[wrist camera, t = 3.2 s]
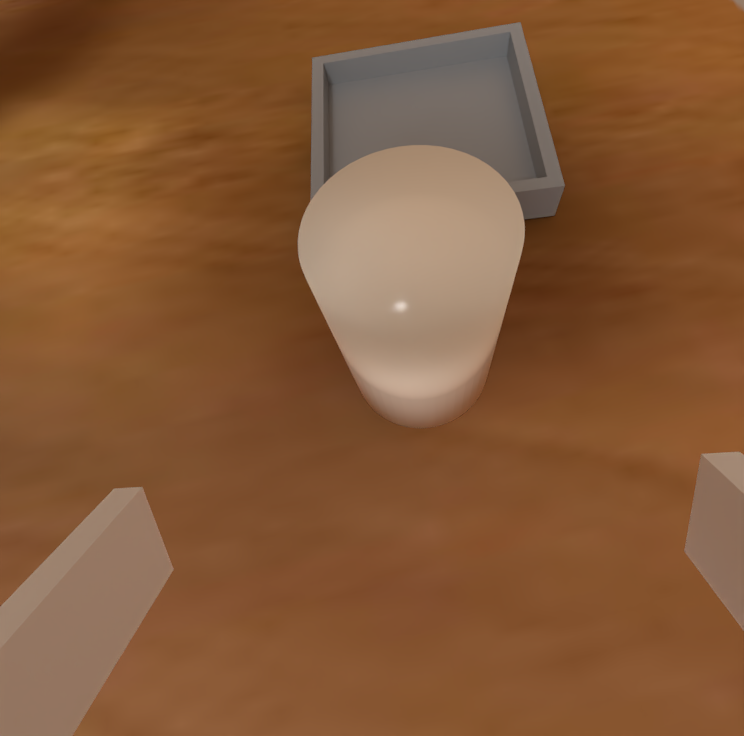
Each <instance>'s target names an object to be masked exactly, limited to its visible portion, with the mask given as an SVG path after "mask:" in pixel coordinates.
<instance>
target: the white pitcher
mask: <svg viewBox="0 0 744 736" xmlns="http://www.w3.org/2000/svg"><path fill="white" fill-rule="evenodd" d="M524 237H525V224H524V216H523V212H522V209H521V206H520V202H519V200H518V198H517V196H516V194H515V192H514V191H513V189H512V188H511V187H510V185H509V184H508V182H507V181H506V180H505V179H504V178H503V177H502V176H501V175H500V174H499V173H498V172H497V171H496V170H494V169H493V168H492V167H491V166H489V165H488V164H486V163H485V162H483V161H481V160H480V159H478V158H476V157H474V156H471V155H469V154H467V153H464V152H461V151H458V150H455V149H451V148H446V147H441V146H431V145H409V146H399V147H394V148H389V149H385V150H381V151H378V152H375V153H372V154H369V155H367V156H364V157H362V158H360V159H358V160H356V161H354V162H352V163H350V164H349V165H347V166H346V167H344V168H343V169H341V170H340V171H338V172H337V173H336V174H334V175H333V176H332V177H331V178H330V179H328V181H327V182H326V183H325V184H324V185H323V186H322V187H321V188H320V189H319V190H318V192H317V193H316V194H315V195H314V197H313V198H312V200H311V201H310V203H309V205H308V207H307V208H306V211H305V213H304V215H303V218H302V221H301V225H300V228H299V234H298V256H299V260H300V265H301V268H302V271H303V273H304V276H305V278H306V280H307V282H308V284H309V286H310V288H311V290H312V293H313V295H314V297H315V299H316V301H317V303H318V305H319V307H320V309H321V311H322V313H323V315H324V317H325V319H326V321H327V324H328V326H329V328H330V330H331V332H332V334H333V336H334V338H335V340H336V342H337V344H338V346H339V348H340V350H341V352H342V355H343V357H344V359H345V361H346V363H347V365H348V367H349V369H350V371H351V373H352V375H353V377H354V379H355V381H356V383H357V385H358V388H359V390H360V392H361V394H362V395H363V397H364V399H365V400H366V402H367V403H368V404H369V406H370V407H371V408H372V409H373V410H374V411H375V412H376V413H378V414H379V415H381V416H382V417H383V418H385V419H387V420H389V421H390V422H393V423H395V424H398V425H401V426H405V427H411V428H430V427H436V426H440V425H444V424H446V423H449V422H451V421H453V420H455V419H457V418H458V417H460V416H461V415H463V414H464V413H465V412H466V411H468V410H469V409H470V408H471V407H472V406H473V405H474V403H475V402H476V401H477V399H478V398H479V396H480V394H481V392H482V391H483V388H484V385H485V383H486V379H487V376H488V372H489V368H490V365H491V361H492V358H493V354H494V350H495V347H496V343H497V340H498V336H499V332H500V329H501V325H502V322H503V318H504V314H505V311H506V307H507V304H508V300H509V296H510V293H511V289H512V286H513V282H514V278H515V275H516V271H517V268H518V264H519V261H520V257H521V253H522V249H523V244H524Z"/></svg>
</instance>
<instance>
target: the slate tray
mask: <svg viewBox="0 0 744 736" xmlns="http://www.w3.org/2000/svg"><path fill="white" fill-rule="evenodd" d="M409 145H431V146H441V147H446V148H451V149H455V150H458V151H461V152H464V153H467V154H469V155H471V156H474V157H476V158H478V159H480V160H481V161H483V162H485V163H486V164H488V165H489V166H491V167H492V168H493V169H494V170H496V171H497V172H498V173H499V174H500V175H501V176H502V177H503V178H504V179H505V180H506V181H507V182H508V184H509V185H510V187H511V188H512V189H513V191H514V192H515V194H516V196H517V198H518V200H519V202H520V206H521V209H522V212H523V216H524V219H531V218H539V217H547V216H555V213H556V210H557V207H558V204H559V201H560V198H561V196H562V193H563V190H564V187H565V184H564V181H563V177H562V173H561V170H560V166H559V162H558V159H557V155H556V151H555V147H554V144H553V140H552V136H551V133H550V129H549V125H548V122H547V118H546V114H545V111H544V107H543V103H542V100H541V96H540V92H539V89H538V85H537V81H536V78H535V74H534V70H533V67H532V63H531V59H530V56H529V52H528V48H527V45H526V41H525V37H524V34H523V30H522V26H521V23H520V22H519V23H513V24H507V25H501V26H495V27H489V28H483V29H478V30H472V31H466V32H460V33H454V34H448V35H443V36H437V37H431V38H425V39H419V40H413V41H407V42H402V43H396V44H390V45H384V46H378V47H372V48H367V49H361V50H355V51H349V52H343V53H337V54H331V55H326V56H320V57H314V58H312V122H311V200H312V198H313V197H314V195H315V194H316V193H317V192H318V190H319V189H320V188H321V187H322V186H323V185H324V184H325V183H326V182H327V181H328V179H330V178H331V177H332V176H333V175H334V174H336V173H337V172H338V171H340V170H341V169H343V168H344V167H346V166H347V165H349V164H350V163H352V162H354V161H356V160H358V159H360V158H362V157H364V156H367V155H369V154H372V153H375V152H378V151H381V150H385V149H389V148H394V147H399V146H409Z"/></svg>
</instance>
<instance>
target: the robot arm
mask: <svg viewBox="0 0 744 736" xmlns="http://www.w3.org/2000/svg"><path fill="white" fill-rule="evenodd" d="M685 553H686V554H687V555H688V557H689V558H690V559H691V561H692V562H693V563H694V565H695V566H696V567H697V569H698V570H699V571H700V573H701V574H702V576H703V577H704V578H705V580H706V581H707V582H708V584H709V585H710V586H711V588H712V589H713V590H714V592H715V593H716V594H717V596H718V597H719V598H720V600H721V601H722V602H723V604H724V605H725V606H726V608H727V609H728V610H729V612H730V613H731V614H732V616H733V617H734V618H735V620H736V621H737V622H738V624H739V625H740V626H741V628H742V629H743V630H744V455H743V454H741V453H740V452H727V453H710V454H701V458H700V464H699V470H698V476H697V482H696V487H695V493H694V499H693V505H692V511H691V516H690V522H689V528H688V534H687V540H686V545H685ZM173 570H174V569H173V567H172V564H171V562H170V559H169V556H168V554H167V551H166V548H165V546H164V543H163V540H162V538H161V535H160V533H159V530H158V527H157V525H156V522H155V519H154V517H153V514H152V511H151V509H150V506H149V504H148V501H147V498H146V496H145V493H144V490H143V488H142V487H134V488H117V489H113V490H112V491H111V493H110V494H109V495H108V496H107V497H106V498H105V499H104V500H103V501H102V502H101V503H100V504H99V505H98V506H97V507H96V508H95V509H94V510H93V511H92V512H91V513H90V514H89V515H88V516H87V517H86V518H85V519H84V521H83V522H82V523H81V524H80V525H79V526H78V527H77V528H76V529H75V530H74V531H73V532H72V533H71V534H70V535H69V536H68V537H67V538H66V539H65V540H64V541H63V542H62V543H61V544H60V545H59V546H58V547H57V549H56V550H55V551H54V552H53V553H52V554H51V555H50V556H49V557H48V558H47V559H46V560H45V561H44V562H43V563H42V564H41V565H40V566H39V567H38V568H37V569H36V570H35V571H34V572H33V573H32V574H31V575H30V577H29V578H28V579H27V580H26V581H25V582H24V583H23V584H22V585H21V586H20V587H19V588H18V589H17V590H16V591H15V592H14V593H13V594H12V595H11V596H10V597H9V598H8V599H7V600H6V601H5V602H4V603H3V605H2V606H1V607H0V736H72V735H73V734H74V732H75V730H76V729H77V727H78V725H79V724H80V722H81V721H82V719H83V717H84V716H85V714H86V712H87V711H88V709H89V707H90V706H91V704H92V702H93V701H94V699H95V698H96V696H97V694H98V693H99V691H100V689H101V688H102V686H103V684H104V683H105V681H106V680H107V678H108V676H109V675H110V673H111V671H112V670H113V668H114V666H115V665H116V663H117V661H118V660H119V658H120V657H121V655H122V653H123V652H124V650H125V648H126V647H127V645H128V643H129V642H130V640H131V638H132V637H133V635H134V634H135V632H136V630H137V629H138V627H139V625H140V624H141V622H142V620H143V619H144V617H145V616H146V614H147V612H148V611H149V609H150V607H151V606H152V604H153V602H154V601H155V599H156V597H157V596H158V594H159V593H160V591H161V589H162V588H163V586H164V584H165V583H166V581H167V579H168V578H169V576H170V574H171V573H172V571H173Z"/></svg>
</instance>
